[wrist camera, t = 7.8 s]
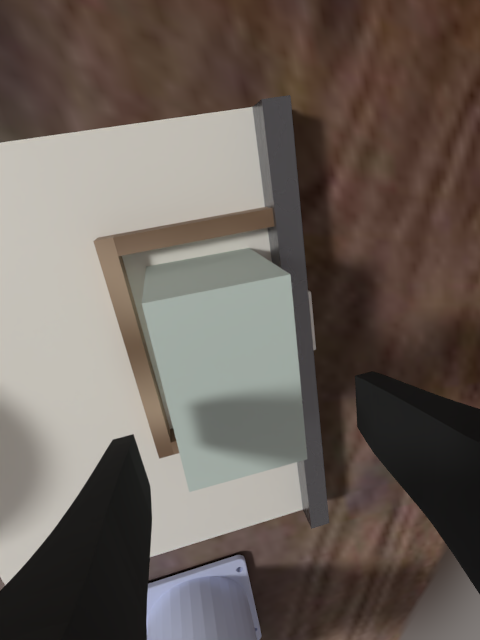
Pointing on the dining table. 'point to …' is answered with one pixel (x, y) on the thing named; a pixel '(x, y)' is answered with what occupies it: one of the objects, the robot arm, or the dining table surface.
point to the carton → (227, 363)
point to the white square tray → (135, 313)
